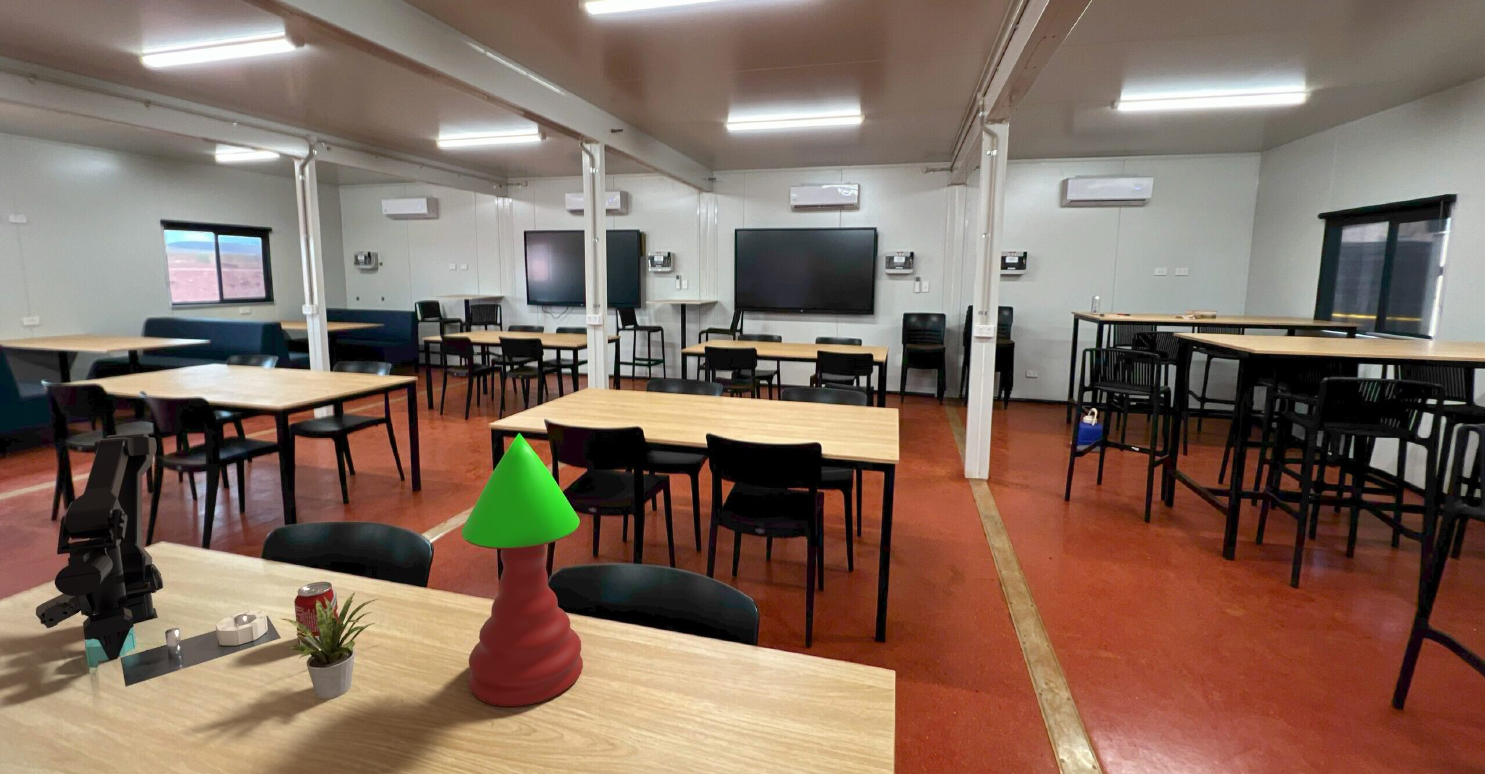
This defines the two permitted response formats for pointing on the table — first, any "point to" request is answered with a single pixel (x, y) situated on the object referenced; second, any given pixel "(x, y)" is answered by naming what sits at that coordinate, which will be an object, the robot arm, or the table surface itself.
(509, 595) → the table lamp
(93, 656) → the teal blocky piece
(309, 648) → the house plant
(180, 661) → the gear board
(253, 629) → the cream gear
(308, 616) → the soda can
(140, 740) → the table surface
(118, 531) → the robot arm
